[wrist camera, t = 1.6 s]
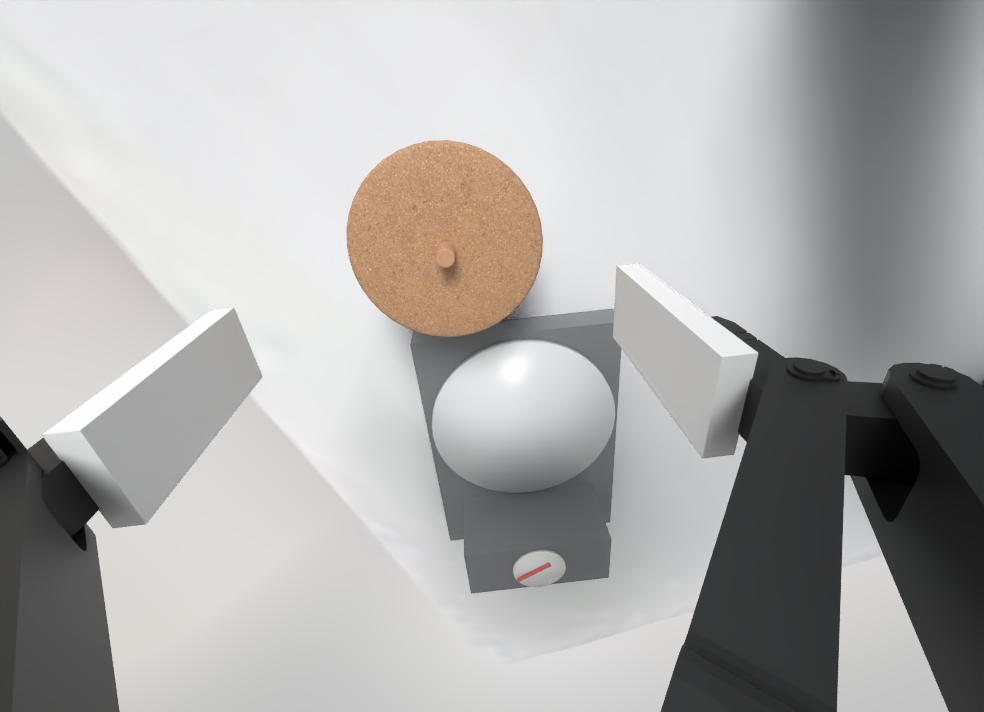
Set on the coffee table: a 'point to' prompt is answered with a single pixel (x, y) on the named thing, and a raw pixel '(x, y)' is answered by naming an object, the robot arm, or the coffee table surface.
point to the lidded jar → (444, 238)
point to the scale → (525, 445)
